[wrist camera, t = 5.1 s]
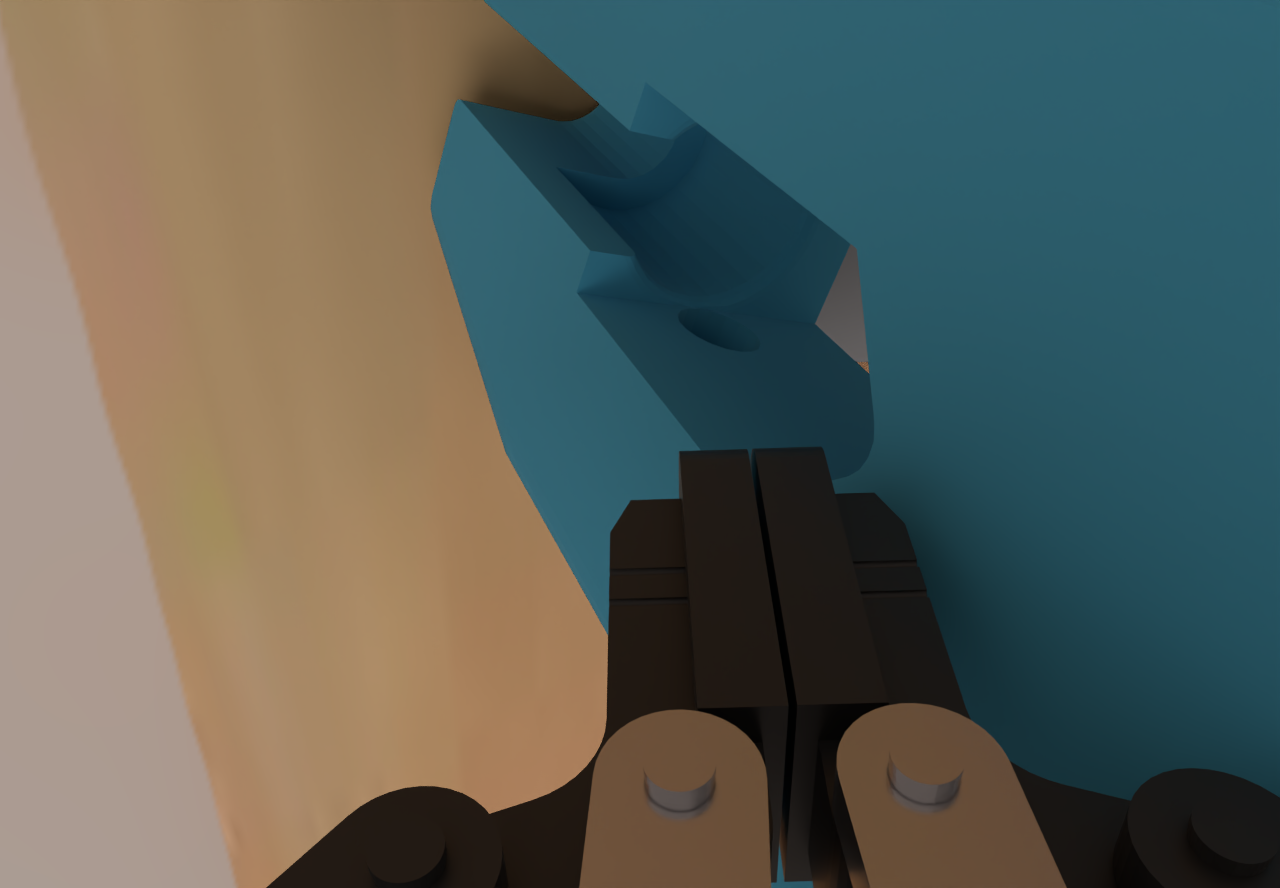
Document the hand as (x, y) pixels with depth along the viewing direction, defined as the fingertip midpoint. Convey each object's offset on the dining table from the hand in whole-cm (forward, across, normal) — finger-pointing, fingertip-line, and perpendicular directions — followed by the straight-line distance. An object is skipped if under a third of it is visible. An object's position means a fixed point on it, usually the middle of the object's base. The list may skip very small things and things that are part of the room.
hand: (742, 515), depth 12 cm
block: (+15, +2, 0) cm, 15 cm away
